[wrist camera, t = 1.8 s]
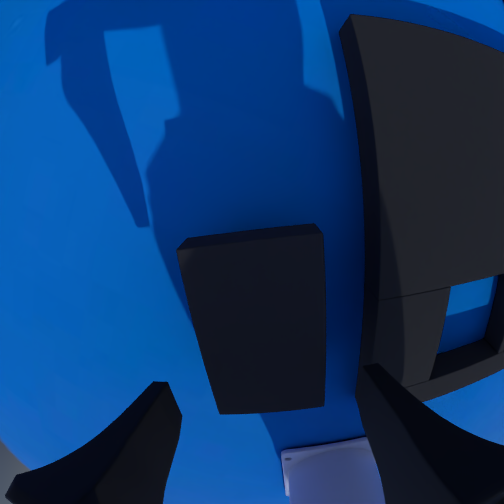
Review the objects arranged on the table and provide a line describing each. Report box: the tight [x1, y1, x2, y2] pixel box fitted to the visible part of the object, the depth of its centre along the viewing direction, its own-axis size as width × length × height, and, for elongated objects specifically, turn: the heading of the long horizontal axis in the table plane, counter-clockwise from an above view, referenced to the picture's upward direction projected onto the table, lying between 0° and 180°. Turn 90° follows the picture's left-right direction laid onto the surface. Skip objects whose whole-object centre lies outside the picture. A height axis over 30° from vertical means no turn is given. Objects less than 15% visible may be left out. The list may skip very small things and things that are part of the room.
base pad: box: [339, 14, 504, 404], centre depth 11 cm, size 20×14×2 cm
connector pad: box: [176, 223, 326, 414], centre depth 12 cm, size 8×5×4 cm, turn 7°
